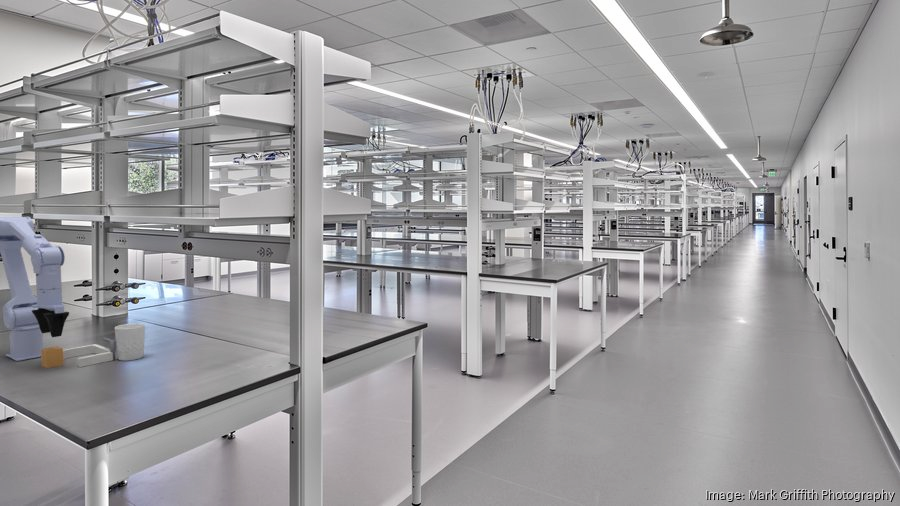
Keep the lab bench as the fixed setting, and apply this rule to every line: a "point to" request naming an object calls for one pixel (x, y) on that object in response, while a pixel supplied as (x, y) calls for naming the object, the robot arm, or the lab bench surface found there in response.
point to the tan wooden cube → (52, 357)
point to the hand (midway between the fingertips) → (51, 334)
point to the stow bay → (101, 352)
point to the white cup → (130, 341)
